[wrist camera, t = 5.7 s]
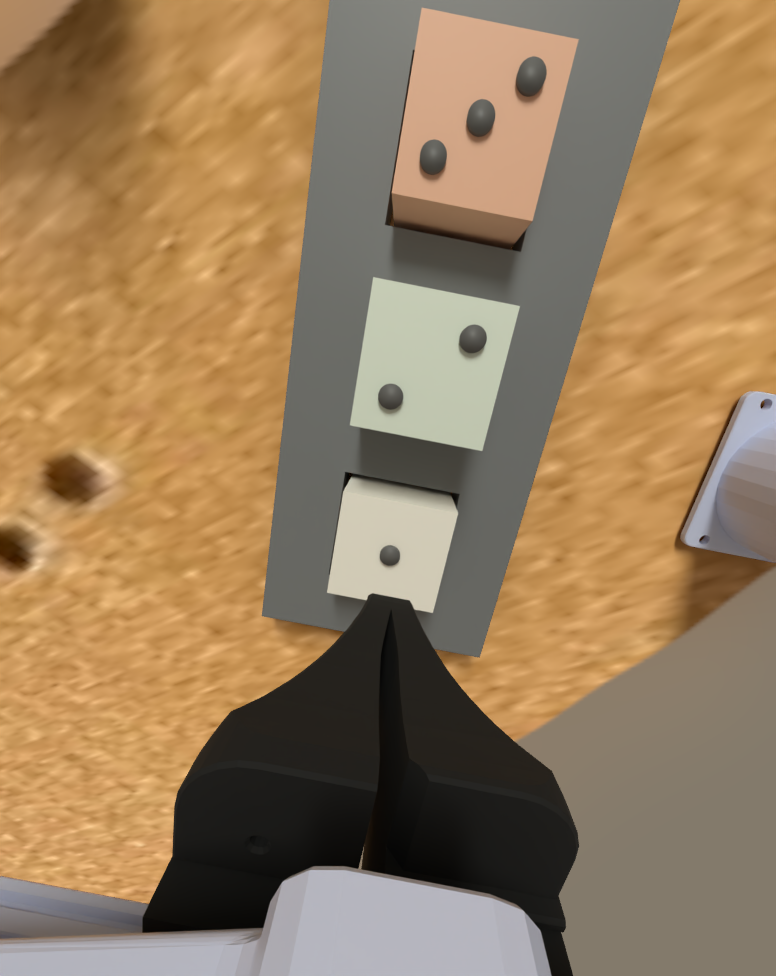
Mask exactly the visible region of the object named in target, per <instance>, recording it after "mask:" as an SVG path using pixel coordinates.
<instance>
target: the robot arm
mask: <svg viewBox="0 0 776 976" xmlns="http://www.w3.org/2000/svg"><path fill="white" fill-rule="evenodd" d="M763 400H764V402H765V403H764V406H763V407H762V408H761V407H760V404H761V402H762V401H763ZM702 536H704V538H703V540H701V541H699V539H700V538H701V537H702ZM680 538H681V541H682V542H683V543H684V544H686V545H688V546H691V547H696V548H701V549H706V550H711V551H716V552H722V553H727V554H732V555H737V556H742V557H748V558H753V559H758V560H763V561H768V562H773V563H776V395H774V394H769V393H764V392H756V391H750V392H747V393H745V394H744V395H743V396H742V397H741V398H740V400H739V402H738V404H737V406H736V409H735V411H734V413H733V415H732V418H731V420H730V422H729V425H728V427H727V429H726V432H725V434H724V436H723V438H722V441H721V443H720V445H719V448H718V450H717V452H716V455H715V457H714V459H713V461H712V464H711V466H710V468H709V471H708V473H707V475H706V478H705V480H704V482H703V484H702V487H701V489H700V491H699V494H698V496H697V498H696V501H695V503H694V505H693V507H692V510H691V512H690V514H689V517H688V519H687V521H686V523H685V526H684V528H683V530H682V533H681V536H680ZM363 847H364V852H363V860H362V869H358V868H359V863H360V859H361V855H362V851H363ZM578 848H579V842H578V833H577V830H576V827H575V825H574V822H573V819H572V817H571V814H570V811H569V809H568V806H567V804H566V801H565V799H564V796H563V794H562V792H561V790H560V788H559V786H558V784H557V781H556V779H555V777H554V775H553V773H552V771H551V770H550V769H548V768H547V767H546V766H545V765H543V764H542V763H541V762H539V761H538V760H537V759H536V758H534V757H533V756H532V755H530V754H529V753H528V752H526V751H525V750H524V749H523V748H521V747H520V746H519V745H518V744H517V743H515V742H514V741H513V740H512V739H511V738H510V737H509V736H508V735H506V734H505V733H504V732H503V731H502V730H501V729H500V728H499V727H498V726H496V725H495V724H494V723H493V722H492V721H491V720H490V719H489V718H488V717H487V716H486V715H485V714H484V713H483V712H482V711H481V710H480V708H479V707H478V706H477V705H476V704H475V703H474V702H473V701H472V700H471V699H470V698H469V697H468V695H467V694H466V693H465V692H464V691H463V690H462V688H461V687H460V686H459V685H458V683H457V682H456V681H455V679H454V678H453V677H452V676H451V674H450V673H449V672H448V670H447V669H446V667H445V666H444V664H443V663H442V661H441V659H440V658H439V656H438V655H437V653H436V651H435V650H434V648H433V646H432V644H431V643H430V641H429V639H428V637H427V635H426V634H425V632H424V630H423V628H422V626H421V624H420V621H419V619H418V617H417V615H416V613H415V610H414V608H413V605H412V603H411V602H410V600H405V599H400V598H395V597H390V596H384V595H379V594H374V593H372V594H370V595H368V598H367V600H366V602H365V604H364V606H363V608H362V609H361V611H360V613H359V614H358V615H357V617H356V618H355V620H354V621H353V622H352V624H351V625H350V626H349V627H348V629H347V630H346V631H345V632H344V633H343V634H342V635H341V637H340V638H339V639H338V640H337V641H336V642H335V643H334V644H333V645H332V646H331V647H330V648H329V649H328V650H327V651H326V652H325V653H324V654H323V655H322V656H321V657H319V658H318V659H317V660H316V661H315V662H313V663H312V664H311V665H310V666H308V667H307V668H306V669H305V670H303V671H302V672H301V673H299V674H298V675H297V676H295V677H294V678H292V679H291V680H289V681H288V682H286V683H284V684H283V685H281V686H280V687H278V688H276V689H275V690H273V691H272V692H270V693H268V694H266V695H265V696H263V697H261V698H259V699H257V700H255V701H253V702H250V703H248V704H246V705H244V706H242V707H240V708H238V709H235V710H233V711H231V712H230V713H229V715H228V716H227V717H226V718H225V719H224V721H223V722H222V723H221V724H220V725H219V727H218V728H217V729H216V731H215V732H214V733H213V735H212V736H211V737H210V739H209V740H208V742H207V743H206V744H205V746H204V747H203V749H202V750H201V752H200V753H199V755H198V756H197V758H196V760H195V761H194V763H193V765H192V767H191V769H190V771H189V772H188V774H187V776H186V778H185V780H184V781H183V783H182V785H181V787H180V789H179V790H178V793H177V798H176V802H175V808H174V832H173V856H172V858H171V860H170V862H169V864H168V866H167V869H166V871H165V873H164V875H163V877H162V879H161V881H160V883H159V885H158V887H157V889H156V891H155V893H154V895H153V897H152V899H151V901H150V903H149V904H146V903H141V902H136V901H131V900H125V899H120V898H115V897H109V896H104V895H99V894H94V893H88V892H83V891H78V890H72V889H67V888H62V887H57V886H51V885H46V884H41V883H36V882H30V881H25V880H20V879H14V878H9V877H4V876H0V976H573V974H572V970H571V967H570V963H569V960H568V956H567V952H566V948H565V945H564V941H563V938H562V934H561V932H564V930H565V928H566V922H565V917H564V913H563V910H562V907H561V903H560V900H559V897H558V895H559V893H560V891H561V889H562V886H563V884H564V882H565V880H566V878H567V876H568V874H569V872H570V870H571V868H572V866H573V863H574V861H575V859H576V855H577V851H578Z"/></svg>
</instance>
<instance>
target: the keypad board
mask: <svg viewBox="0 0 776 976" xmlns="http://www.w3.org/2000/svg"><path fill="white" fill-rule="evenodd" d="M679 2H680V0H330V2H329V11H328V20H327V29H326V38H325V47H324V56H323V65H322V74H321V83H320V92H319V102H318V111H317V120H316V129H315V138H314V147H313V156H312V165H311V174H310V183H309V192H308V202H307V211H306V220H305V229H304V238H303V247H302V256H301V265H300V274H299V283H298V292H297V302H296V311H295V320H294V329H293V338H292V347H291V356H290V365H289V374H288V383H287V392H286V402H285V411H284V420H283V429H282V438H281V447H280V456H279V465H278V474H277V483H276V492H275V502H274V511H273V520H272V529H271V538H270V547H269V556H268V565H267V574H266V583H265V592H264V602H263V611H262V616H264V617H270V618H275V619H280V620H285V621H291V622H296V623H301V624H306V625H312V626H317V627H322V628H327V629H333V630H338V631H343V632H345V631H346V630H347V629H348V627H349V626H350V625H351V624H352V622H353V621H354V620H355V618H356V617H357V615H358V614H359V613H360V611H361V609H362V608H363V606H364V604H365V602H366V600H362V599H357V598H352V597H347V596H342V595H336V594H331V593H327V589H328V583H329V577H330V571H331V565H332V558H333V552H334V546H335V540H336V534H337V528H338V521H339V515H340V509H341V503H342V497H343V491H344V489H345V487H346V486H347V484H348V478H349V473H354V474H359V475H365V476H370V477H375V478H380V479H385V480H390V481H396V482H401V483H406V484H411V485H416V486H421V487H427V488H432V489H437V490H442V491H447V492H452V499H453V501H454V504H455V506H456V509H457V511H458V516H457V520H456V524H455V528H454V532H453V536H452V540H451V544H450V548H449V551H448V555H447V559H446V563H445V567H444V571H443V575H442V579H441V583H440V587H439V591H438V595H437V599H436V603H435V607H434V610H433V613H430V612H425V611H420V610H415V609H414V610H415V613H416V615H417V617H418V619H419V621H420V624H421V626H422V628H423V630H424V632H425V634H426V635H427V637H428V639H429V641H430V643H431V644H432V646H433V648H434V649H438V650H443V651H448V652H453V653H459V654H464V655H469V656H474V657H480V654H481V651H482V648H483V644H484V641H485V638H486V635H487V631H488V628H489V625H490V621H491V618H492V615H493V612H494V608H495V605H496V602H497V599H498V595H499V592H500V589H501V585H502V582H503V579H504V576H505V572H506V569H507V566H508V563H509V559H510V556H511V553H512V549H513V546H514V543H515V540H516V536H517V533H518V530H519V526H520V523H521V520H522V517H523V513H524V510H525V507H526V504H527V500H528V497H529V494H530V490H531V487H532V484H533V481H534V477H535V474H536V471H537V467H538V464H539V461H540V458H541V454H542V451H543V448H544V445H545V441H546V438H547V435H548V431H549V428H550V425H551V422H552V418H553V415H554V412H555V408H556V405H557V402H558V399H559V395H560V392H561V389H562V386H563V382H564V379H565V376H566V372H567V369H568V366H569V363H570V359H571V356H572V353H573V350H574V346H575V343H576V340H577V336H578V333H579V330H580V327H581V323H582V320H583V317H584V313H585V310H586V307H587V304H588V300H589V297H590V294H591V291H592V287H593V284H594V281H595V277H596V274H597V271H598V268H599V264H600V261H601V258H602V254H603V251H604V248H605V245H606V241H607V238H608V235H609V232H610V228H611V225H612V222H613V218H614V215H615V212H616V209H617V205H618V202H619V199H620V196H621V192H622V189H623V186H624V182H625V179H626V176H627V173H628V169H629V166H630V163H631V159H632V156H633V153H634V150H635V146H636V143H637V140H638V137H639V133H640V130H641V127H642V123H643V120H644V117H645V114H646V110H647V107H648V104H649V100H650V97H651V94H652V91H653V87H654V84H655V81H656V78H657V74H658V71H659V68H660V64H661V61H662V58H663V55H664V51H665V48H666V45H667V41H668V38H669V35H670V32H671V28H672V25H673V22H674V19H675V15H676V12H677V9H678V5H679ZM422 8H427V9H432V10H437V11H442V12H447V13H451V14H456V15H461V16H466V17H471V18H476V19H481V20H486V21H491V22H496V23H501V24H506V25H511V26H516V27H520V28H525V29H530V30H535V31H540V32H545V33H550V34H555V35H560V36H565V37H570V38H575V39H579V40H578V44H577V48H576V52H575V56H574V60H573V64H572V68H571V72H570V76H569V80H568V83H567V87H566V91H565V95H564V99H563V103H562V107H561V111H560V115H559V119H558V123H557V127H556V131H555V135H554V139H553V142H552V146H551V150H550V154H549V158H548V162H547V166H546V170H545V174H544V178H543V182H542V186H541V190H540V194H539V198H538V201H537V205H536V209H535V213H534V217H533V221H532V222H531V224H530V225H529V226H528V227H527V229H526V230H525V231H524V232H523V234H522V235H521V236H520V238H519V239H518V240H517V241H516V243H515V244H514V245H513V249H512V250H509V249H504V248H499V247H494V246H489V245H484V244H479V243H474V242H469V241H463V240H458V239H453V238H448V237H443V236H438V235H433V234H428V233H423V232H418V231H413V230H408V229H403V228H398V227H393V226H390V222H391V216H392V210H393V204H392V188H393V182H394V175H395V169H396V163H397V157H398V151H399V145H400V138H401V132H402V126H403V120H404V114H405V108H406V101H407V95H408V89H409V83H410V77H411V70H412V64H413V58H414V52H415V46H416V40H417V33H418V27H419V21H420V15H421V9H422ZM373 277H375V278H380V279H385V280H390V281H396V282H401V283H406V284H411V285H416V286H421V287H426V288H431V289H436V290H441V291H446V292H451V293H456V294H461V295H466V296H471V297H477V298H482V299H487V300H492V301H497V302H502V303H507V304H512V305H517V306H520V308H519V312H518V316H517V320H516V323H515V327H514V331H513V335H512V339H511V343H510V346H509V350H508V354H507V358H506V362H505V366H504V370H503V373H502V377H501V381H500V385H499V389H498V393H497V396H496V400H495V404H494V408H493V412H492V416H491V419H490V423H489V427H488V431H487V435H486V439H485V442H484V446H483V450H482V451H479V450H474V449H469V448H464V447H459V446H454V445H449V444H443V443H438V442H433V441H428V440H423V439H418V438H413V437H407V436H402V435H397V434H392V433H387V432H382V431H377V430H371V429H366V428H361V427H356V426H351V425H350V421H351V414H352V408H353V402H354V395H355V389H356V383H357V377H358V370H359V364H360V358H361V351H362V345H363V339H364V332H365V326H366V320H367V314H368V307H369V301H370V295H371V288H372V282H373Z"/></svg>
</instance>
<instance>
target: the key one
mask: <svg viewBox="0 0 776 976" xmlns="http://www.w3.org/2000/svg"><path fill="white" fill-rule="evenodd" d="M457 516H458V511H457V509H456V506H455V504H454V501H453V499H452V496H451V494H450V492H447V491H442V490H437V489H432V488H427V487H421V486H416V485H411V484H406V483H401V482H396V481H390V480H385V479H380V478H375V477H370V476H365V475H359V474H354V473H353V475H352V477H351V479H350V480H349V482H348V484H347V486H346V487H345V489H344V491H343V497H342V503H341V509H340V515H339V521H338V528H337V534H336V540H335V546H334V552H333V558H332V565H331V571H330V577H329V583H328V589H327V593H331V594H336V595H342V596H347V597H352V598H357V599H362V600H367V598H368V595H370V594H372V593H374V594H379V595H384V596H390V597H395V598H400V599H405V600H410V602H411V603H412V605H413V608H414V609H415V610H420V611H425V612H430V613H433V610H434V607H435V603H436V599H437V595H438V591H439V587H440V583H441V579H442V575H443V571H444V567H445V563H446V559H447V555H448V551H449V548H450V544H451V540H452V536H453V532H454V528H455V524H456V520H457Z"/></svg>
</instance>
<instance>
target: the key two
mask: <svg viewBox="0 0 776 976" xmlns="http://www.w3.org/2000/svg"><path fill="white" fill-rule="evenodd" d="M519 308H520V306H517V305H512V304H507V303H502V302H497V301H492V300H487V299H482V298H477V297H471V296H466V295H461V294H456V293H451V292H446V291H441V290H436V289H431V288H426V287H421V286H416V285H411V284H406V283H401V282H396V281H390V280H385V279H380V278H375V277H373V282H372V288H371V295H370V301H369V307H368V314H367V320H366V326H365V332H364V339H363V345H362V351H361V358H360V364H359V370H358V377H357V383H356V389H355V395H354V402H353V408H352V414H351V421H350V425H351V426H356V427H361V428H366V429H371V430H377V431H382V432H387V433H392V434H397V435H402V436H407V437H413V438H418V439H423V440H428V441H433V442H438V443H443V444H449V445H454V446H459V447H464V448H469V449H474V450H479V451H482V450H483V446H484V442H485V439H486V435H487V431H488V427H489V423H490V419H491V416H492V412H493V408H494V404H495V400H496V396H497V393H498V389H499V385H500V381H501V377H502V373H503V370H504V366H505V362H506V358H507V354H508V350H509V346H510V343H511V339H512V335H513V331H514V327H515V323H516V320H517V316H518V312H519Z"/></svg>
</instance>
